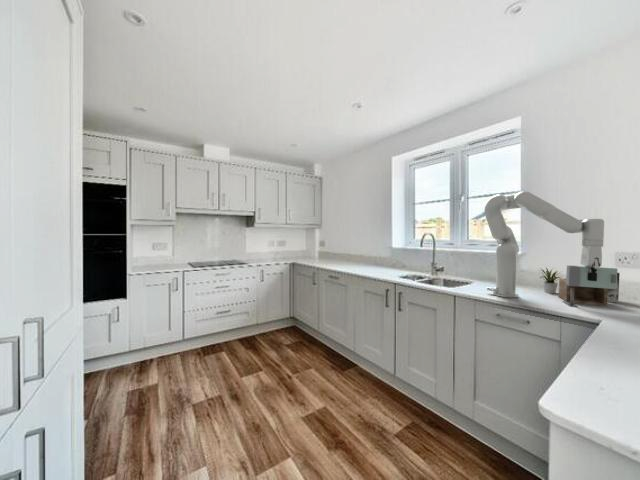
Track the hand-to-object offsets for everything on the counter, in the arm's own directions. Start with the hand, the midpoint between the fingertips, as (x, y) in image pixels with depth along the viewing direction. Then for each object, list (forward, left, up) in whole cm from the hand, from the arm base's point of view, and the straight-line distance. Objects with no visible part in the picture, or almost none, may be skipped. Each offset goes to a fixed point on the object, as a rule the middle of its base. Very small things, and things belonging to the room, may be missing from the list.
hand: (590, 280), depth 134 cm
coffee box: (+14, +24, -14) cm, 31 cm away
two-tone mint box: (0, 0, -3) cm, 3 cm away
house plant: (-9, +34, -14) cm, 38 cm away
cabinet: (0, +9, -14) cm, 17 cm away
